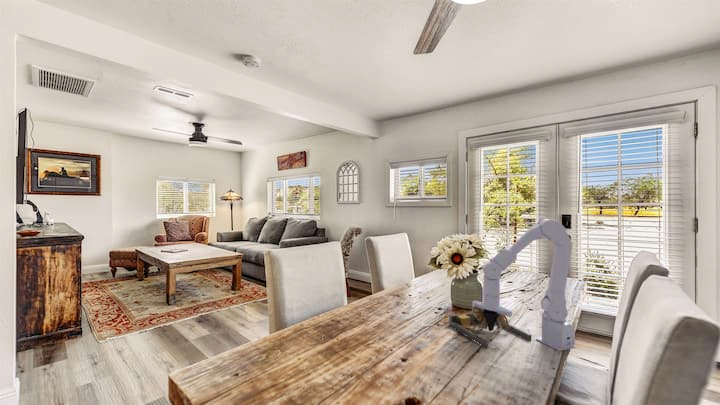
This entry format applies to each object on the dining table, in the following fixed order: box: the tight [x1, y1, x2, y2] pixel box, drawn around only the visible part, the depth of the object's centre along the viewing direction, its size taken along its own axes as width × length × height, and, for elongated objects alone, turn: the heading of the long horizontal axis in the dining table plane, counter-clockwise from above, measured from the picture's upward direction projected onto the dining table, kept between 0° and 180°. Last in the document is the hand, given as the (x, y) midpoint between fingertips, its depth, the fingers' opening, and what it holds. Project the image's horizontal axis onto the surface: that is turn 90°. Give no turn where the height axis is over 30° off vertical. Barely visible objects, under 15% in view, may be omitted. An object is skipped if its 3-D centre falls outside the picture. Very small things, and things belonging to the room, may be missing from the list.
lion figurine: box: [471, 306, 512, 331], centre depth 119 cm, size 15×5×9 cm, turn 86°
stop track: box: [448, 311, 532, 349], centre depth 117 cm, size 21×20×4 cm
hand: (491, 330), depth 115 cm, fingers closed, pressing on lion figurine
